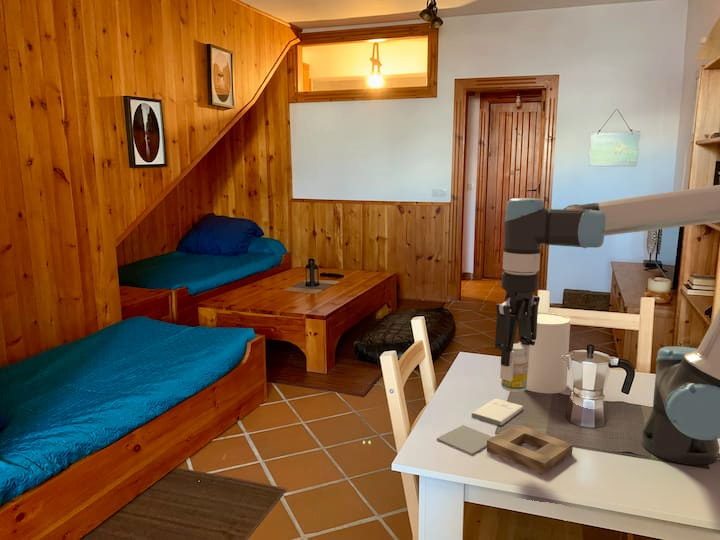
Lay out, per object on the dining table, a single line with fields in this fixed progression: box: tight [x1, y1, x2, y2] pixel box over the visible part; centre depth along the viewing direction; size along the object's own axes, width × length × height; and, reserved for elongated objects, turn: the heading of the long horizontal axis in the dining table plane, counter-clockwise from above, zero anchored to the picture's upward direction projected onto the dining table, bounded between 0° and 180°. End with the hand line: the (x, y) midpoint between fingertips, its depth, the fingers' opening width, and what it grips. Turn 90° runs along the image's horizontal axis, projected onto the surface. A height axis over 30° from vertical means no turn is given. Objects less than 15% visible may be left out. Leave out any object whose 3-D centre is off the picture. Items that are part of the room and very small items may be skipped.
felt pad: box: [436, 424, 493, 456], centre depth 131 cm, size 10×10×1 cm
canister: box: [519, 311, 571, 394], centre depth 163 cm, size 14×14×20 cm
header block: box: [486, 423, 574, 475], centre depth 125 cm, size 14×12×2 cm
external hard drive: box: [471, 398, 524, 427], centre depth 146 cm, size 2×8×12 cm
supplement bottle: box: [500, 343, 528, 393], centre depth 123 cm, size 5×5×10 cm
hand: (514, 375), depth 124 cm, fingers closed on supplement bottle, 5 cm apart
